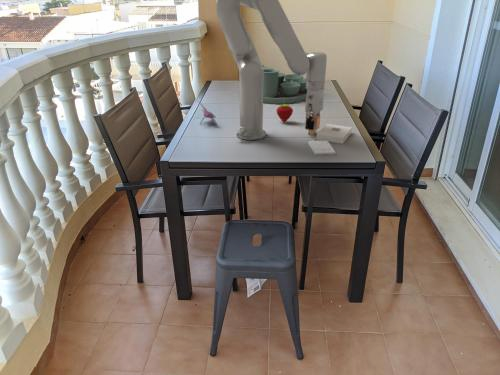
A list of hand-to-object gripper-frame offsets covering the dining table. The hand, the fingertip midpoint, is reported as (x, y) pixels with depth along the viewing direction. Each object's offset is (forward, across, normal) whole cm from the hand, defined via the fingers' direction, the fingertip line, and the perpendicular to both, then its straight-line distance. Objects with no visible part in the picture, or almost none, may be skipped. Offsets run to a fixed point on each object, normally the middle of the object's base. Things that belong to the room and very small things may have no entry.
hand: (312, 126), depth 171 cm
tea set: (+4, +53, +40) cm, 66 cm away
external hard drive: (+4, -15, -9) cm, 18 cm away
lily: (+3, -8, +48) cm, 48 cm away
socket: (+3, +1, -10) cm, 10 cm away
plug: (+3, 0, 0) cm, 3 cm away
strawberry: (+3, +9, +16) cm, 19 cm away
